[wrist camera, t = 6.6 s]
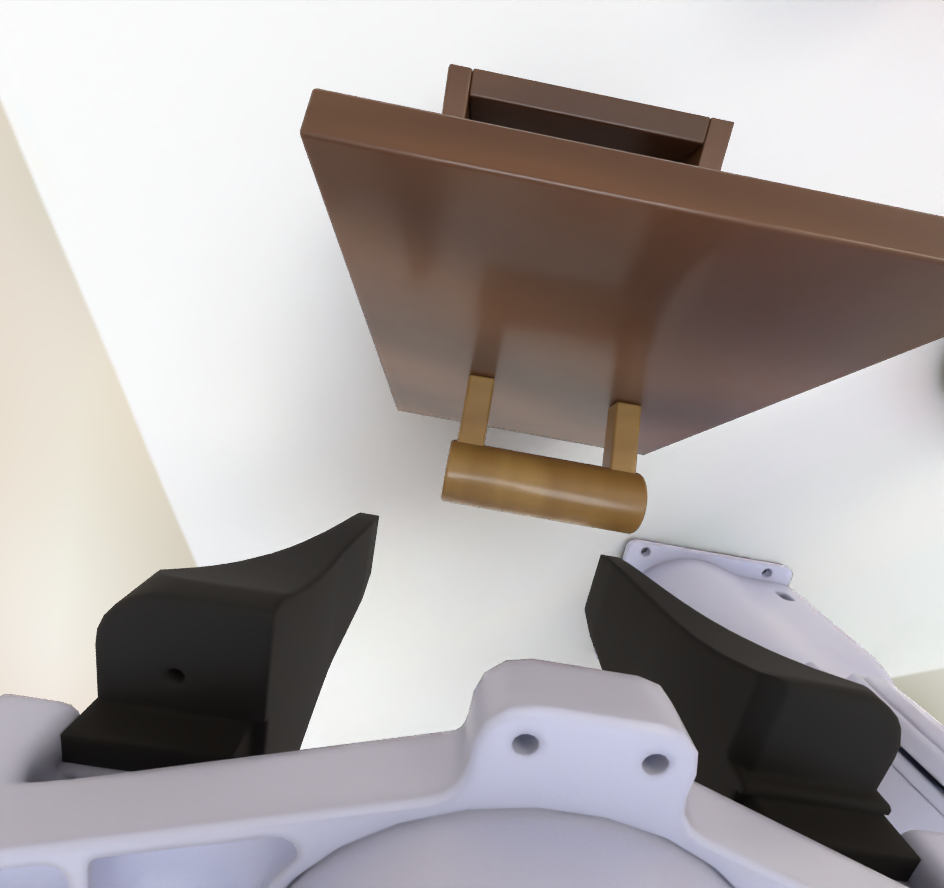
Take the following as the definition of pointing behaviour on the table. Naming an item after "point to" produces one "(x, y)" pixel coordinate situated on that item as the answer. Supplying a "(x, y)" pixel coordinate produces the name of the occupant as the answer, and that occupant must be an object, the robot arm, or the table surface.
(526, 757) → the robot arm
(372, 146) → the bin lid
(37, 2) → the table surface
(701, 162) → the bin
